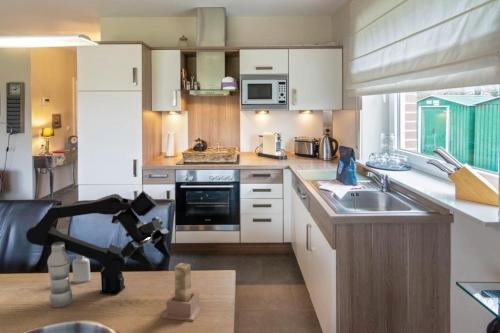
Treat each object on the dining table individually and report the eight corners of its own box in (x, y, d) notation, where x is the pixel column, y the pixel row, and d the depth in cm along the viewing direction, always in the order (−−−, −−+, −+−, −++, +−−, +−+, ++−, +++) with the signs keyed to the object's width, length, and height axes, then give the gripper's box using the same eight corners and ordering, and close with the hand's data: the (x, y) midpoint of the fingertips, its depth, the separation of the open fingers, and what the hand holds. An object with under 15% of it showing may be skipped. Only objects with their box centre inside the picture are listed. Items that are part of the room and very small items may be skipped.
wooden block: (175, 311, 124) (174, 267, 122) (181, 306, 127) (180, 262, 125) (185, 313, 123) (185, 268, 121) (191, 307, 126) (190, 264, 124)
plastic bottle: (77, 302, 131) (74, 241, 128) (61, 311, 125) (57, 248, 122) (61, 298, 133) (58, 239, 130) (45, 308, 127) (41, 246, 124)
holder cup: (161, 317, 121) (160, 303, 120) (174, 302, 131) (173, 288, 130) (193, 321, 119) (193, 306, 118) (204, 305, 129) (203, 291, 128)
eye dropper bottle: (84, 284, 145) (83, 251, 143) (71, 282, 146) (69, 250, 144) (92, 279, 149) (90, 247, 147) (79, 277, 150) (77, 246, 149)
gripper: (126, 217, 125) (156, 257, 122) (163, 204, 142) (191, 239, 139) (108, 238, 130) (137, 277, 127) (146, 223, 146) (172, 258, 143)
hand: (161, 262), depth 134 cm, fingers open, 9 cm apart
